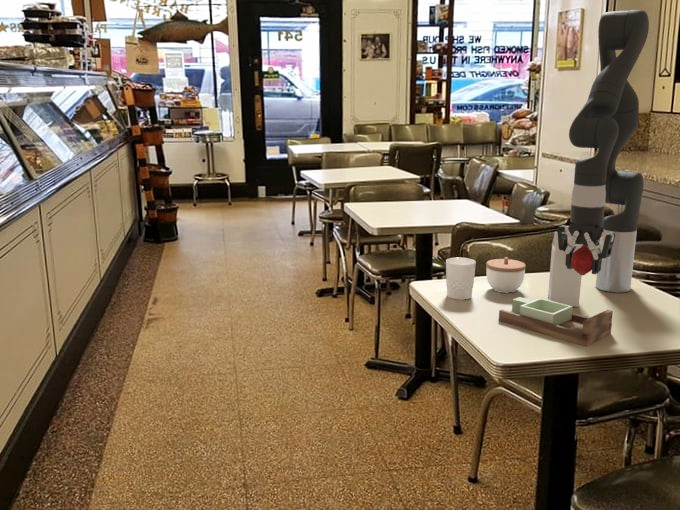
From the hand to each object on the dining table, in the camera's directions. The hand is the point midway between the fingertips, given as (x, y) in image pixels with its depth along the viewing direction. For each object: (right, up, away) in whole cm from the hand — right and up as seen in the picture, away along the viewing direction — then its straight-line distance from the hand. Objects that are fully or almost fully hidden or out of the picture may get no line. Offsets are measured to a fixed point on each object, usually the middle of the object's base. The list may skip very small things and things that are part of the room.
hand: (582, 270), depth 165 cm
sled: (-11, -11, -1) cm, 16 cm away
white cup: (-26, -8, +20) cm, 34 cm away
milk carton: (0, -9, +15) cm, 18 cm away
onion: (0, -1, 0) cm, 1 cm away
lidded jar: (-13, -6, +26) cm, 30 cm away
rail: (-8, -13, -3) cm, 16 cm away
